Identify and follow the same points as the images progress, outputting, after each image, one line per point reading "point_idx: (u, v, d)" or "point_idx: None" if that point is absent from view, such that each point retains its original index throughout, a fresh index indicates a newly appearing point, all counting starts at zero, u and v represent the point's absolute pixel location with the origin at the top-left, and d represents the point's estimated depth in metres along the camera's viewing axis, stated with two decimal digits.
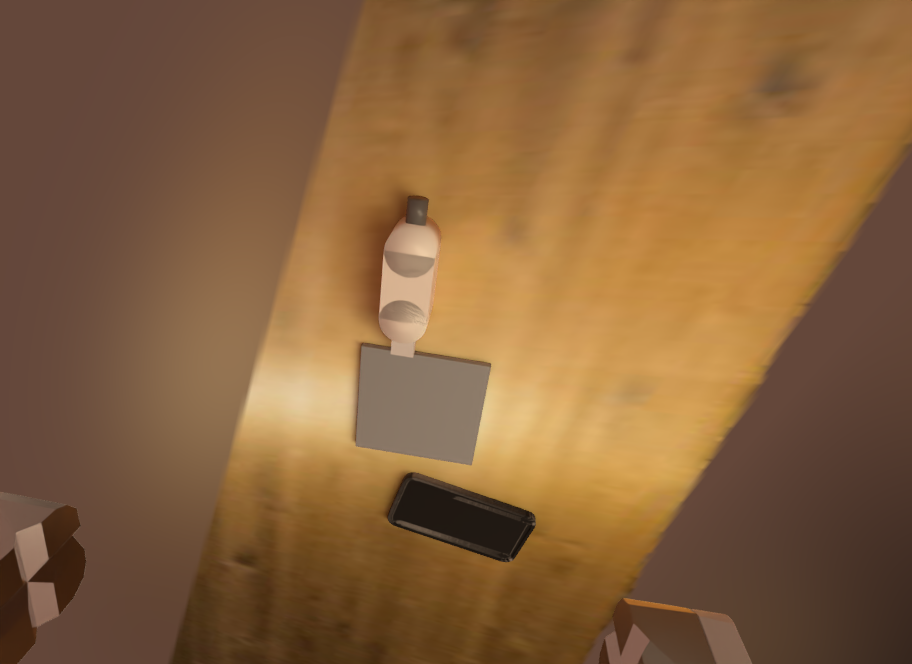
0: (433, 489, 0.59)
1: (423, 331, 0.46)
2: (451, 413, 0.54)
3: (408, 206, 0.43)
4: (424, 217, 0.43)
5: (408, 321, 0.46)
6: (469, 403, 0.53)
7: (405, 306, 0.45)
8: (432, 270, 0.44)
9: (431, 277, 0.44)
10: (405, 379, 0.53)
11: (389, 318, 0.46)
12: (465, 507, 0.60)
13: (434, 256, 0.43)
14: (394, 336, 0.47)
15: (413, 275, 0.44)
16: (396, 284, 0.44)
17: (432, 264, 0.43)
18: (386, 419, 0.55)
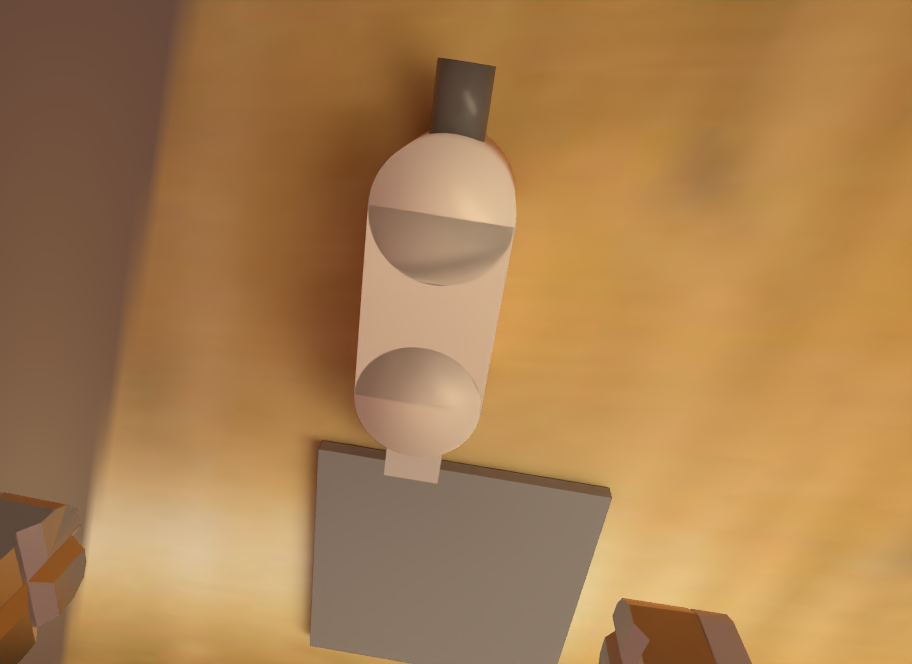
0: None
1: (470, 428, 0.18)
2: (515, 590, 0.25)
3: (439, 81, 0.15)
4: (483, 115, 0.15)
5: (431, 404, 0.18)
6: (555, 572, 0.24)
7: (425, 363, 0.17)
8: (505, 263, 0.15)
9: (500, 284, 0.16)
10: (416, 520, 0.24)
11: (382, 394, 0.18)
12: None
13: (513, 222, 0.15)
14: (394, 439, 0.18)
15: (451, 278, 0.16)
16: (403, 303, 0.16)
17: (506, 246, 0.15)
18: (373, 598, 0.26)
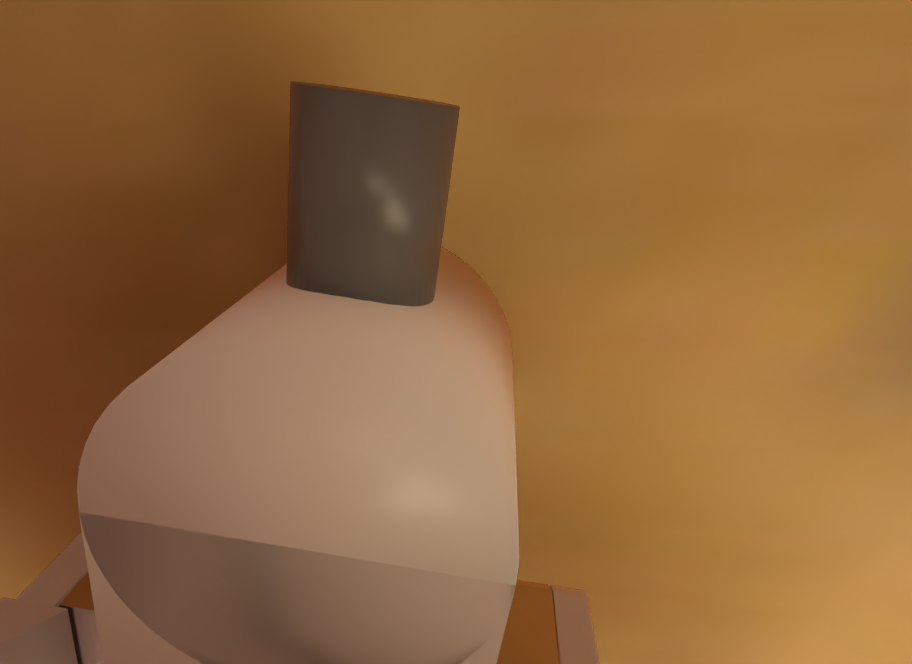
0: None
1: None
2: None
3: (294, 150, 0.05)
4: (426, 242, 0.05)
5: None
6: None
7: None
8: (487, 662, 0.05)
9: None
10: None
11: None
12: None
13: (509, 568, 0.05)
14: None
15: None
16: None
17: (490, 626, 0.05)
18: None
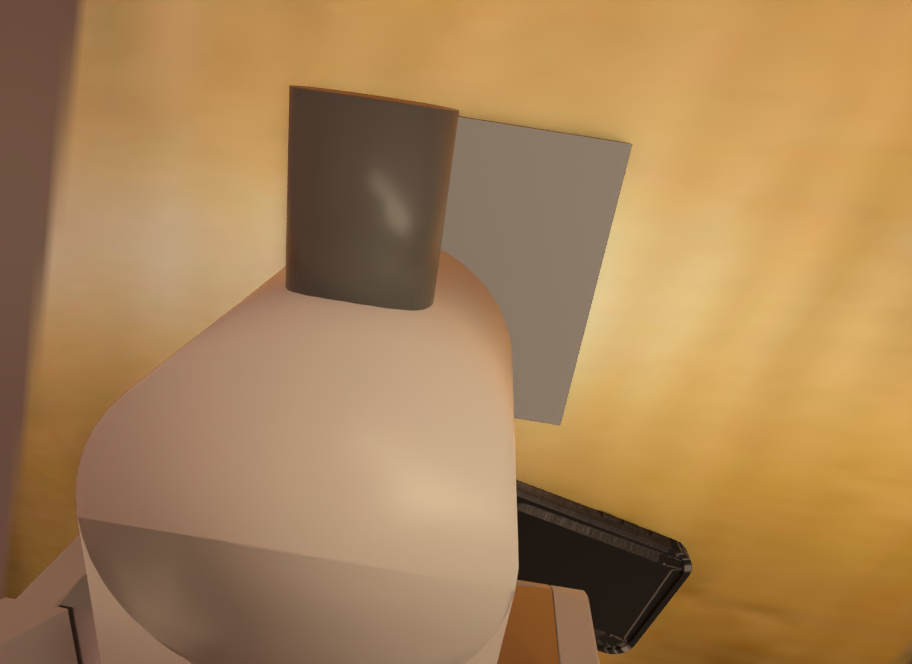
0: None
1: None
2: (522, 286, 0.23)
3: (293, 155, 0.05)
4: (425, 246, 0.05)
5: None
6: (567, 257, 0.22)
7: None
8: None
9: None
10: None
11: None
12: (538, 529, 0.27)
13: (509, 573, 0.05)
14: None
15: None
16: None
17: (489, 631, 0.05)
18: None
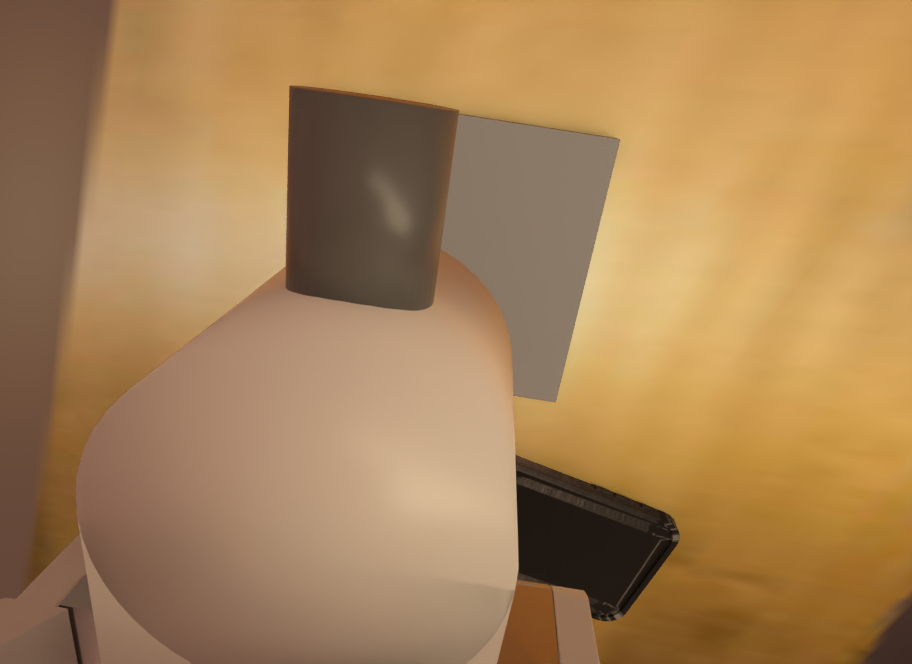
0: None
1: None
2: (520, 271, 0.24)
3: (293, 155, 0.05)
4: (425, 246, 0.05)
5: None
6: (561, 244, 0.24)
7: None
8: None
9: None
10: None
11: None
12: (535, 502, 0.29)
13: (509, 573, 0.05)
14: None
15: None
16: None
17: (489, 631, 0.05)
18: None
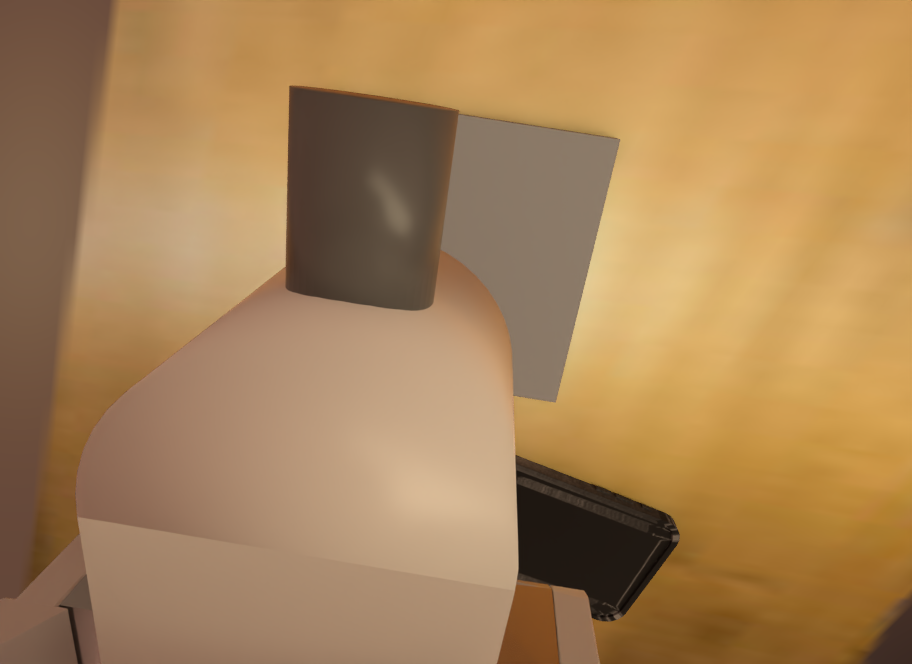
0: None
1: None
2: (520, 271, 0.24)
3: (293, 154, 0.05)
4: (425, 246, 0.05)
5: None
6: (561, 244, 0.24)
7: None
8: None
9: None
10: None
11: None
12: (535, 502, 0.29)
13: (509, 573, 0.05)
14: None
15: None
16: None
17: (489, 630, 0.05)
18: None
